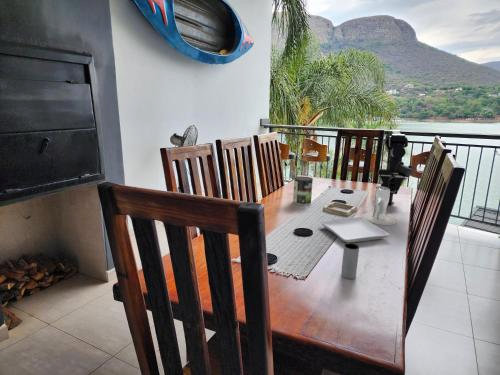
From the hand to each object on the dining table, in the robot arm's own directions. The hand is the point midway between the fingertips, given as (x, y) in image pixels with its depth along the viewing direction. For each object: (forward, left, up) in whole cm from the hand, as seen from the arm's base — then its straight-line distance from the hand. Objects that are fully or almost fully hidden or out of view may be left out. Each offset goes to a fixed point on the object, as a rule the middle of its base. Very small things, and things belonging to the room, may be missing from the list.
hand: (392, 190), depth 157 cm
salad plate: (+38, -4, -13) cm, 40 cm away
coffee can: (+13, -43, -13) cm, 47 cm away
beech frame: (+12, -21, -12) cm, 27 cm away
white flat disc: (+12, -1, -12) cm, 17 cm away
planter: (+73, +8, -13) cm, 74 cm away
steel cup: (+12, -2, -12) cm, 17 cm away
